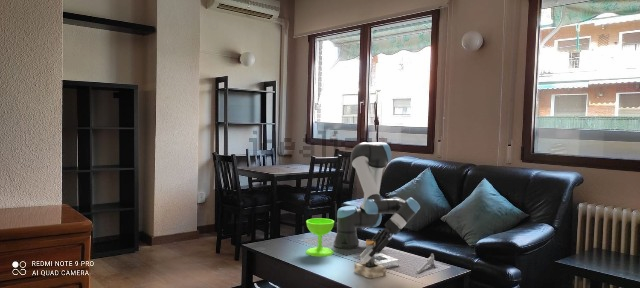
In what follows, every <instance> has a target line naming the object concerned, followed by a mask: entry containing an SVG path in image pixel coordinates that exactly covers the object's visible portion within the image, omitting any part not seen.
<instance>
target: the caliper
mask: <svg viewBox="0 0 640 288" xmlns="http://www.w3.org/2000/svg"><path fill="white" fill-rule="evenodd" d="M433 265H435V255H434V253H431V254H430V256H429V257H428V258H427V259H426V260H425V262H424V263H423V264H422V265H421V266H420V267H419V268H418V269H417V270H416V272H415V274H416V275H418V274H420V273H421V272H422V271H423V270H425V268H426V267H427V266H433Z"/></svg>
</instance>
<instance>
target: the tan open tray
mask: <svg viewBox="0 0 640 288" xmlns="http://www.w3.org/2000/svg"><path fill="white" fill-rule="evenodd" d="M353 269H354V270H353V271H354V272H353V273H357V274H358V275H361V276H363V277H366V278H367V279H374V278H379V277H383V276H387V268H386V267H385V266H382V265H380V264H377V263H375V267H373V268H368V267H366V262H361V261H360V262H356V263H354V268H353Z"/></svg>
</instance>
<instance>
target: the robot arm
mask: <svg viewBox="0 0 640 288" xmlns="http://www.w3.org/2000/svg"><path fill="white" fill-rule="evenodd" d="M391 160H392V151H391V147H390V145H389V144H388V143H386V142H381V141H380V142H365V141H364V142H360V143H358V144H356V145H355V146H354V147H353V148H352V150H351V153H350V162H351V165H352V167H353V168H354V169H355V172H356V175H357V177H358V180H359V183H360V185H361V189H362V191H363V200H362V201H363V202H361V203H360V205H359V208H358V207H357V206H355V205H346V206H342V207H340V208H338V210H337V213H336V219H337V220H336V223H337V224H336V235H335V238H334V241H333V246H334V247H335V248H339V249H344V250H345V249H346V250H347V249H349V250H350V249H351V250H352V249H357V248H359V247H360V241H359V238H358V234H357V229H361V228H362V229H365V228H376V227H378V226H380V224H381V222H382V217H383V216H382V214H383V215H385V214H387V215H389V214H392V216H391V217H390V218H389V219H388V220H387V221H386V222H385V223H384V227H385V228H383V229H381V228H379V230H378V231H377V232H376V233H375V235H374V236H373V237H372V238H371V239H374V240H375V247H374V248H372V249H371V250H370V251H369V252H368V253H367V255H366V248H365V249H363V251H362V253H360V254H359V257H360V259H361V258H362V259H363V260H364V261H365V262H366V263H367V262H368V261H369V260H370V259H371V258H372V257H373V256H374V255H375V254H379V253H382V251H383V250H384V248H386V246H387V245H388V244H389V243H390V242H392V241H393V239H394V238H393V237H392V236H396V235H398V234H399V233H400V231H401V230H402V229H403V228H404V227H405V226H406V224H408V222H410V220H412V219H413V217H414V216H415V215H416V214H417V213H418V211H419V210H420V209H421V205H420V203H419V202H418V201H417V200H415V199H414V198H413V197H409V198H407V199H404V198H403V199H402V198H400V197H399V196H393V197H391V198H382V196H381V194H380V189H381V185H382V184H381V183H382V176H383V170H384V169H385V168H386V167H387V164H389V163H390V162H391Z"/></svg>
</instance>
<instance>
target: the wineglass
mask: <svg viewBox="0 0 640 288" xmlns="http://www.w3.org/2000/svg"><path fill="white" fill-rule="evenodd" d="M305 223H306V227H307V229H308V230H309V232H310V233H311V234H313V235H316V236H317V238H318V240H317V242H318V243H317V247H311V248H308V249H307V250H306V251H305V254H306V255H308V256H310V255H311V256H312V257H320V258H321V257H329V256H330V257H331V256H332V254H333V253H334V250H332V249H331V248H328V247H322V243H323V242H322V240H323V238H322V237H323V236H325V235H327V234H329V233H330V232H331V231H332V230H333V228H334V226H335V220H333V219H330V218H321V217H319V218H317V217H316V218H315V217H314V218H310V219H307V220H306V221H305ZM334 254H335V253H334ZM334 254H333V255H334Z"/></svg>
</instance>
